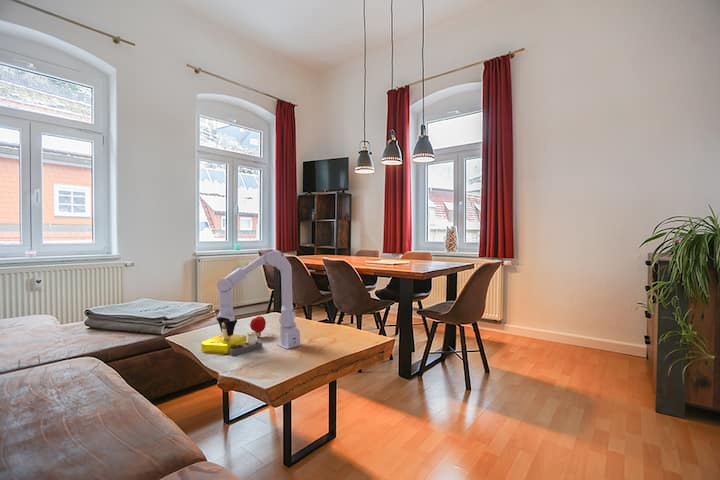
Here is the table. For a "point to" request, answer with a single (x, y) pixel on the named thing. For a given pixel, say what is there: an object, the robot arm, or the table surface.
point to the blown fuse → (224, 332)
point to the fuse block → (244, 348)
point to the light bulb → (258, 325)
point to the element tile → (222, 343)
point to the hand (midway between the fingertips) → (227, 333)
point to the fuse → (251, 338)
